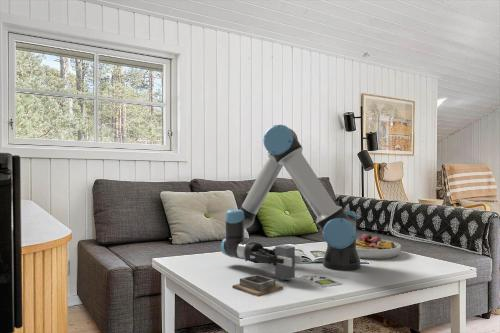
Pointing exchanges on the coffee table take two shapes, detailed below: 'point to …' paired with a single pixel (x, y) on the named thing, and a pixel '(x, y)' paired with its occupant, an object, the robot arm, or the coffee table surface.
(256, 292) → the tray
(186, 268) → the coffee table surface
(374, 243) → the bowl
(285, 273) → the block
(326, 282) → the handheld gaming device
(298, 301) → the coffee table surface
